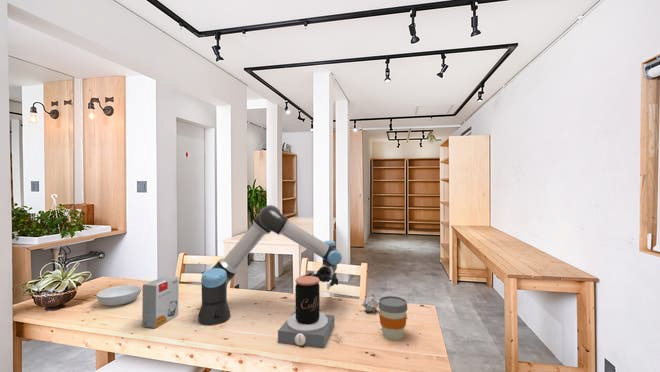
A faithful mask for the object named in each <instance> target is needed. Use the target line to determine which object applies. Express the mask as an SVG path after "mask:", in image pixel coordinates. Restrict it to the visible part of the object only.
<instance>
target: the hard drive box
mask: <svg viewBox="0 0 660 372" xmlns="http://www.w3.org/2000/svg"><path fill="white" fill-rule="evenodd" d="M179 281H180V280H179V276H176V275H175V276H173V275H166V276H163V277H160V278H158V279H155V280H152V281H149V282H146V283H144V284H142V310H141V311H142V312H141V313H142V314H141V318H142V321H141V322H142V323H141V325H142V327H144V328H151V329H156V328H158V327H160V326H162V325H164V324H165V323H167V322H169V321H171V320H173V319H174V318H176V317H177V316H179V291H180V290H179V287H180V286H179Z"/></svg>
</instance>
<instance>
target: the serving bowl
mask: <svg viewBox="0 0 660 372" xmlns="http://www.w3.org/2000/svg"><path fill="white" fill-rule="evenodd" d="M141 291H142V286H140V285H136V284H128V285H118V286H113V287H108V288H105V289H102V290H100V291H99V292H97V293H96V299H97V301H98V302H99V303H100V304H102V305H105V306H113V305H115V306H121V305H120V304H122V305H125V304H127V303H130V302H132V301H134V300H136V299H137V298H138V297H139V296H140V294H141Z"/></svg>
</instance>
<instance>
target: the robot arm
mask: <svg viewBox="0 0 660 372" xmlns="http://www.w3.org/2000/svg"><path fill="white" fill-rule="evenodd" d="M271 232H273V233H274V234H277V235H282V236H284V237H285V238H287V239H289V240H291V241H292V242H294V243H296V244H298V245H299V246H301V247H302V248H304V249H306V250H308V251H309V252H311V253H313V254H315V255H317V256H318V257H320V258H322V266H321V267H320V268H319V269H318V270H317V271H316V273H313V272H310V273H307V274H303V275H301V276H300V277H302V276H314V277H317V278H319V282H321V283H327V284H326V290H330V289H331V287H334V286H335V285H336V286H339V278H338V277H336V274H335V273H336V271H337V268H338V265H339V264H340V263H341V262H342V259H343V256H342V254H341V252H340V251H339V250H338V248H336V247H337V246H336V241H333V240H325V241H323V240H320V239H319V238H318V237H316V236H315V235H312V234H311V233H309V232H308V231H306V230H304V229H302V228H301V227H299V226H298V225H297V224H294V223H292V222H290V220H289V218H288V217H286V216H285V215H283V214H282V213H281V211H280V209H279V208H278V207H277V206H275V205H272V204H269V205H265V206H263V207H262V208H261V210H260V211H259V212H258V214H257V215H256V216H255V217H254V219H252V225H251V226H250V227H249V228H248V230H246V232H245V233H244V234H243V236H242V237H240V239H239V241H238V242H237V243H236V244H235V245H234V246H233V247H232V249H231V250H229V252H228V253H227V255H226V256H225V257H224V258H220V259H219V260H218V261H217V262H216V264H215V265H213V266H212V267H211V268H210V269H207V270H205V271H204V272H202V275H201V279H200V281H201V282H200V283H201V306H200V309H199V312H198V315H197V322H198V323H199V324H200V325H204V326H211V325H212V326H213V325H218V324H219V325H220V324H222V323H224V322H227V321H229V320H230V318H231V309H230V308H229V304H228V301H227V300H228V299H227V295H228V293H227V291H228V290H227V288H228V285H229V283H230V281H231V280H232V279H233V277H234V276H235V275H236V274H237V272H238V270H237V269H238V268H239V267H240V265H241V264H242V263H243V261H244V260H245V259H246V258H247V257H248V255H249V254H250V253H251V252H252V251H253V249H254V248H256V246H257V245H258V243H259V242H260V241H261V240H262V239H263V237H264V236H265V235H269V234H270V233H271Z"/></svg>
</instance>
